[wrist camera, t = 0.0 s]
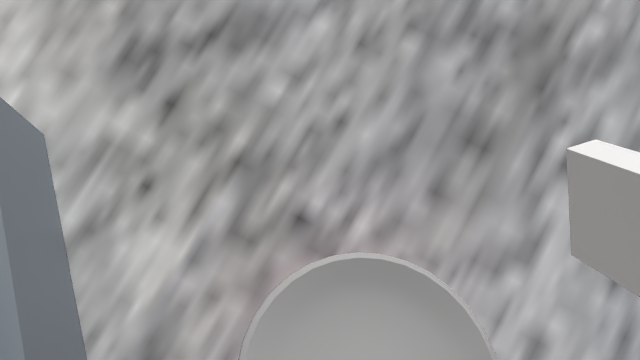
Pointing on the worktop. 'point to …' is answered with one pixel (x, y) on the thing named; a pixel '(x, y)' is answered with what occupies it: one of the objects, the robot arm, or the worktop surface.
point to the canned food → (364, 315)
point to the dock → (32, 252)
